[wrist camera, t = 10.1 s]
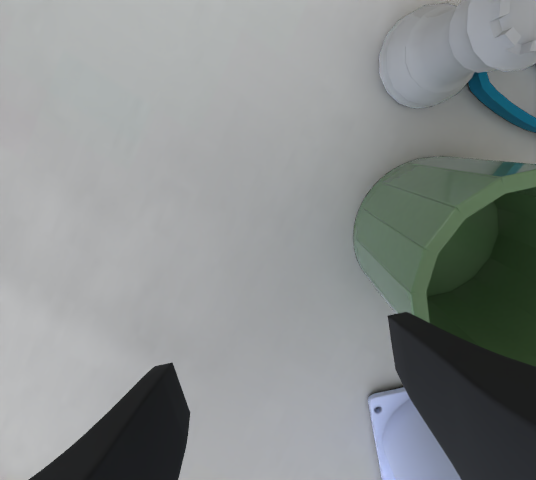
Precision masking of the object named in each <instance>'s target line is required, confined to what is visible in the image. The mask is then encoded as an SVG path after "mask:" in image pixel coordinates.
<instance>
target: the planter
mask: <svg viewBox="0 0 536 480" xmlns="http://www.w3.org/2000/svg"><path fill="white" fill-rule="evenodd" d="M353 241H354V250H355V254H356V258H357V260H358V263H359V265H360V267H361V269H362V270H363V272H364V274H365V275H366V276H367V277H368V279H369V280H370V282H371V283H372V285H373V286H374V287H375V289H376V290H377V291H378V293H379V294H380V295H381V296H382V298H383V299H384V300H385V301H386V303H387V304H388V305H389V306H390V308H391V309H392V310H393V311H394V313H395V314H398V313H403V312H408V313H410V314H413V315H415V316H417V317H419V318H421V319H423V320H425V321H427V322H429V323H431V324H433V325H435V326H437V327H439V328H441V329H443V330H445V331H447V332H449V333H451V334H453V335H455V336H457V337H459V338H462V339H464V340H466V341H468V342H471V343H473V344H475V345H478V346H480V347H483V348H485V349H487V350H490V351H492V352H495V353H497V354H500V355H503V356H506V357H508V358H511V359H514V360H517V361H520V362H523V363H526V364H529V365H532V366H536V164H527V163H516V162H504V161H493V160H481V159H469V158H458V157H446V156H439V157H427V158H421V159H417V160H413V161H410V162H407V163H405V164H403V165H400V166H398V167H397V168H395V169H393V170H392V171H390V172H389V173H387V174H386V175H385V176H384V177H382V178H381V179H380V180H379V181H378V182H377V183H376V184H375V185H374V186H373V187H372V189H371V190H370V191H369V193H368V194H367V196H366V197H365V199H364V200H363V202H362V204H361V206H360V209H359V211H358V214H357V217H356V220H355V225H354V235H353Z"/></svg>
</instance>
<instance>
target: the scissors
mask: <svg viewBox="0 0 536 480" xmlns="http://www.w3.org/2000/svg"><path fill="white" fill-rule="evenodd" d="M468 84H469V87H470V90H471V92H472V93H473V94H474V95H475V96H476V97H477V98H478V99H479V100H480V101H481V102H482V103H483V104H485V105H486V106H487V107H488V108H490V109H491V110H492V111H493V112H495V113H496V114H498V115H499V116H501V117H503V118H504V119H506V120H507V121H509V122H511V123H512V124H514V125H516V126H518V127H521V128H523V129H525V130H528V131H532V132H535V133H536V118H535V117H533V116H531V115H529V114H528V113H526V112H525V111H523V110H522V109H520V108H519V107H517V106H516V105H514V104H513V103H511V102H510V101H509V100H508V99H507V98H505V97H504V96H503V95H502V94H500V93H499V92H498V91H497V90H496V89H495V88H494V86H493V85H492V84H491V83H490V81H489V78H488V75H487V72H480V73H477V72H474V74H473V76H472V78H471V79H470V80H469V82H468Z"/></svg>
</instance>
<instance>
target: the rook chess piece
mask: <svg viewBox="0 0 536 480" xmlns="http://www.w3.org/2000/svg"><path fill="white" fill-rule="evenodd" d="M534 64H536V0H462V1H461V2H460V3H459V5H458V6H455V5H451V4H449V3H441V4H431V5H424V6H422V7H420V8H419V9H417V10H415V11H413V12H412V13H410V14H408V15H407V16H405V17H403V18H402V19H400V20H398V22H397V23H396V24H395V25H394V27H393V28H392V29H391V30H390V31H389V33H388V34H387V35H386V37H385V40H384V43H383V46H382V48H381V51H380V54H379V75H380V77H381V80H382V82H383V85H384V87H385V90H386V92H387V93H388V94H390V95H391V96H392V97H393V98H394V99H395V100H396V101H397V102H398V103H400V104H402V105H405V106H408V107H411V108H424V107H432V106H434V105H435V104H440V103H442V102H443V101H445V100H447V99H449V98H451V97H453V96H455V95H456V94H457V93H459V92H460V90H461V89H462V88H463V87H464V86H465V85H466V84H467V83H468V82H469V80H470V79H471V78H472V76H473V74H474V72H477V73H480V72H490V71H494V70H496V69H498V70H501V71H503V72H507V71H516V70H524V69H526V68H528V67H530V66H532V65H534Z"/></svg>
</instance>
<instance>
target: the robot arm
mask: <svg viewBox="0 0 536 480" xmlns="http://www.w3.org/2000/svg"><path fill="white" fill-rule="evenodd" d="M388 321H389V328H390V335H391V342H392V348H393V355H394V362H395V369H396V371H397V373H398V375H399V377H400V380H401V382H402V384H403V386H404V387H403V388H398V389H394V390H389V391H384V392H379V393H375V394H372V395H371V396H369V398H368V405H369V410H370V416H371V422H372V427H373V433H374V439H375V444H376V450H377V455H378V461H379V467H380V472H381V478H382V480H536V366H532V365H529V364H526V363H523V362H520V361H517V360H514V359H511V358H508V357H506V356H503V355H500V354H497V353H495V352H492V351H490V350H487V349H485V348H483V347H480V346H478V345H475V344H473V343H471V342H468V341H466V340H464V339H462V338H459V337H457V336H455V335H453V334H451V333H449V332H447V331H445V330H443V329H441V328H439V327H437V326H435V325H433V324H431V323H429V322H427V321H425V320H423V319H421V318H419V317H417V316H415V315H413V314H410V313H408V312H403V313H398V314H394V315H389V316H388ZM376 407H379V408H377V409H375V408H376ZM189 418H190V411H189V408H188V406H187V403H186V400H185V397H184V394H183V391H182V388H181V386H180V383H179V380H178V377H177V374H176V371H175V369H174V366H173V363H168V364H164V365H159V366H155V367H154V368H152V369H151V370H150V371H149V372H148V373H147V374H146V375H145V376H144V377H143V378H142V379H141V380H140V381H139V382H138V383H137V384H136V385H135V386H134V387H133V388H132V389H131V390H130V391H129V392H128V393H127V394H126V395H125V396H124V397H123V398H122V399H121V400H120V401H119V402H118V403H117V404H116V405H115V406H114V407H113V408H112V409H111V410H110V411H109V412H108V413H107V414H106V415H105V416H104V417H103V418H102V419H100V420H99V421H98V422H97V423H96V424H95V425H94V426H93V427H92V428H91V429H90V430H89V431H88V432H87V433H86V434H85V435H83V436H82V437H81V438H80V439H79V440H78V441H77V442H76V443H74V444H73V445H72V446H71V447H70V448H69V449H67V450H66V451H65V452H64V453H63V454H61V455H60V456H59V457H58V458H56V459H55V460H54V461H53V462H51V463H50V464H49V465H48V466H46V467H45V468H44V469H43V470H41V471H40V472H39V473H37V474H36V475H34V476H33V477H32V478H30V479H29V480H178V478H179V474H180V470H181V465H182V461H183V457H184V453H185V448H186V444H187V436H188V428H189Z"/></svg>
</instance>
